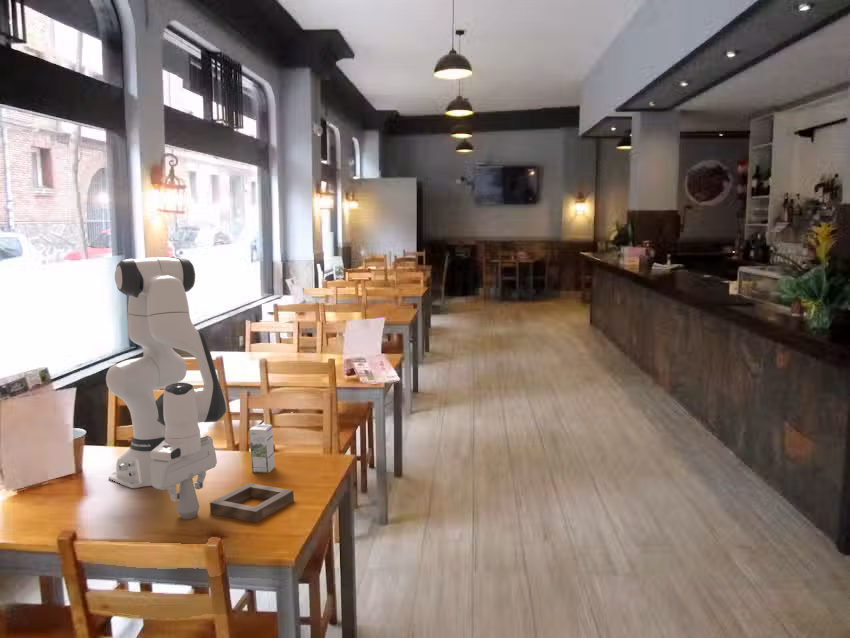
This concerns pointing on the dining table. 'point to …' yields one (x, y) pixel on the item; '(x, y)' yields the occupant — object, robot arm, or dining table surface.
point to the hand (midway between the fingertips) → (187, 494)
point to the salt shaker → (187, 499)
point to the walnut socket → (232, 509)
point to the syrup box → (262, 448)
